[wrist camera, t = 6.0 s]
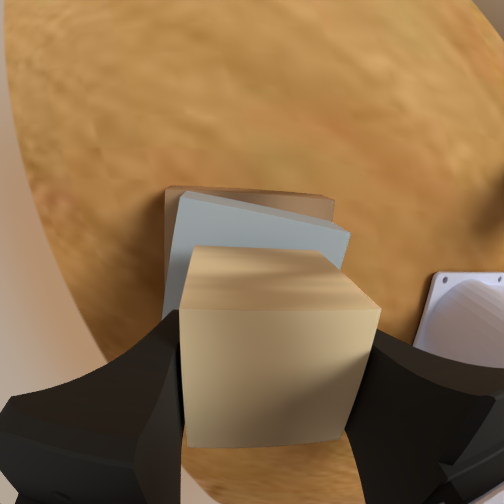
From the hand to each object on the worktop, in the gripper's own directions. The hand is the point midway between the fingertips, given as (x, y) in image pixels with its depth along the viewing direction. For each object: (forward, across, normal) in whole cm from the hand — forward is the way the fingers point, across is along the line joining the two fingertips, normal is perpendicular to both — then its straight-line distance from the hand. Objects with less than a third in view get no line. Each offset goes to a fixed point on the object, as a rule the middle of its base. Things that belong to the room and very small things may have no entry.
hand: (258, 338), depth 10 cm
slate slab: (+5, 0, 0) cm, 5 cm away
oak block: (+2, 0, 0) cm, 2 cm away
